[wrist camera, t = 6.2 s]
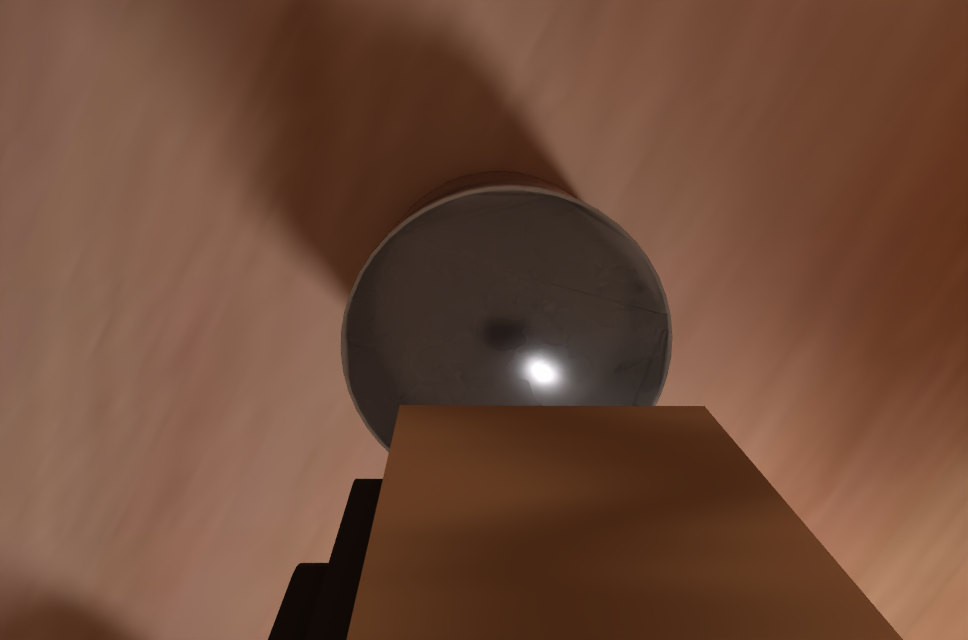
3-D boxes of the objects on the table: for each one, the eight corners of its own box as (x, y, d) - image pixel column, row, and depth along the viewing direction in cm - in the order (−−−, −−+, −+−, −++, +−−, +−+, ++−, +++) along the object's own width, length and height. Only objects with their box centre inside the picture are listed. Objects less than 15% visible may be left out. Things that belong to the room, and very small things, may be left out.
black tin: (628, 170, 23) (693, 189, 17) (606, 403, 26) (652, 496, 20) (370, 166, 23) (331, 182, 16) (379, 401, 26) (349, 495, 20)
